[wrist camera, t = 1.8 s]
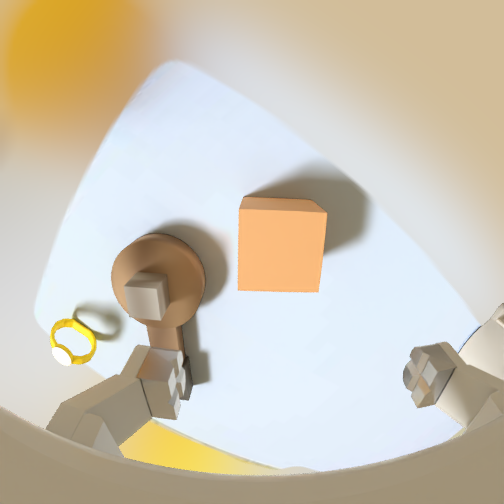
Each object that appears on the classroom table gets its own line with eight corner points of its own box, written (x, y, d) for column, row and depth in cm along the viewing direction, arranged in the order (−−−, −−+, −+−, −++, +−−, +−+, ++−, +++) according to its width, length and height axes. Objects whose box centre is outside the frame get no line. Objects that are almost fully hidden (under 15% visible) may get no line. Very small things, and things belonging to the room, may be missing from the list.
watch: (63, 321, 30) (39, 347, 24) (67, 307, 29) (41, 333, 23) (99, 348, 31) (79, 377, 25) (104, 335, 30) (83, 365, 24)
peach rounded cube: (311, 199, 24) (327, 212, 19) (306, 263, 26) (318, 292, 21) (243, 196, 24) (238, 209, 19) (241, 261, 26) (237, 290, 21)
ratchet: (204, 234, 26) (190, 254, 20) (212, 387, 32) (206, 420, 27) (117, 232, 26) (88, 250, 20) (144, 379, 32) (131, 409, 27)
